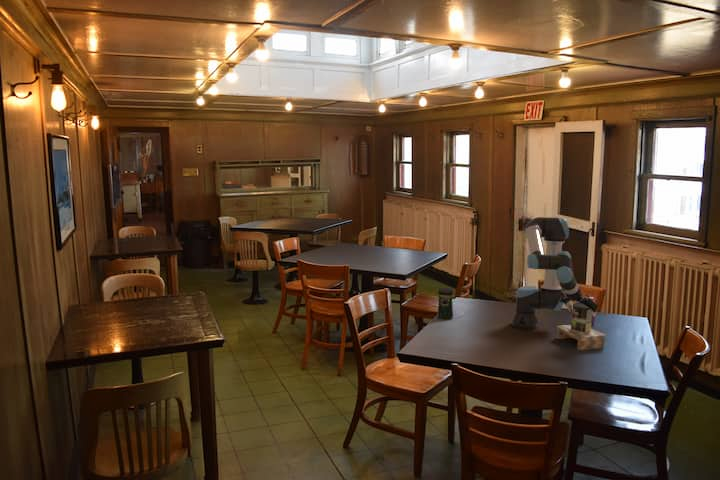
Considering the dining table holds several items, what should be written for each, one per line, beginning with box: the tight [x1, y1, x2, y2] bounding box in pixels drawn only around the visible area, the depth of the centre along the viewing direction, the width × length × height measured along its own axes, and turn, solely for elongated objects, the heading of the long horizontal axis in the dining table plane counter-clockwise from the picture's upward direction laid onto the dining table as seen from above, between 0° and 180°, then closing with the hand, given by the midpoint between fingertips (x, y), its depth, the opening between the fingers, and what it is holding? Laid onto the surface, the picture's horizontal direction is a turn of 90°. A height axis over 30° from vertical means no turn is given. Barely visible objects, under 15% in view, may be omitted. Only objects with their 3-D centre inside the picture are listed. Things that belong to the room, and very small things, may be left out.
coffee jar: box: [436, 287, 455, 320], centre depth 355 cm, size 10×8×19 cm
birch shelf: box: [556, 324, 606, 351], centre depth 314 cm, size 16×20×7 cm
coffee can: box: [570, 302, 592, 333], centre depth 312 cm, size 10×10×14 cm
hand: (582, 311), depth 312 cm, fingers open, 13 cm apart
